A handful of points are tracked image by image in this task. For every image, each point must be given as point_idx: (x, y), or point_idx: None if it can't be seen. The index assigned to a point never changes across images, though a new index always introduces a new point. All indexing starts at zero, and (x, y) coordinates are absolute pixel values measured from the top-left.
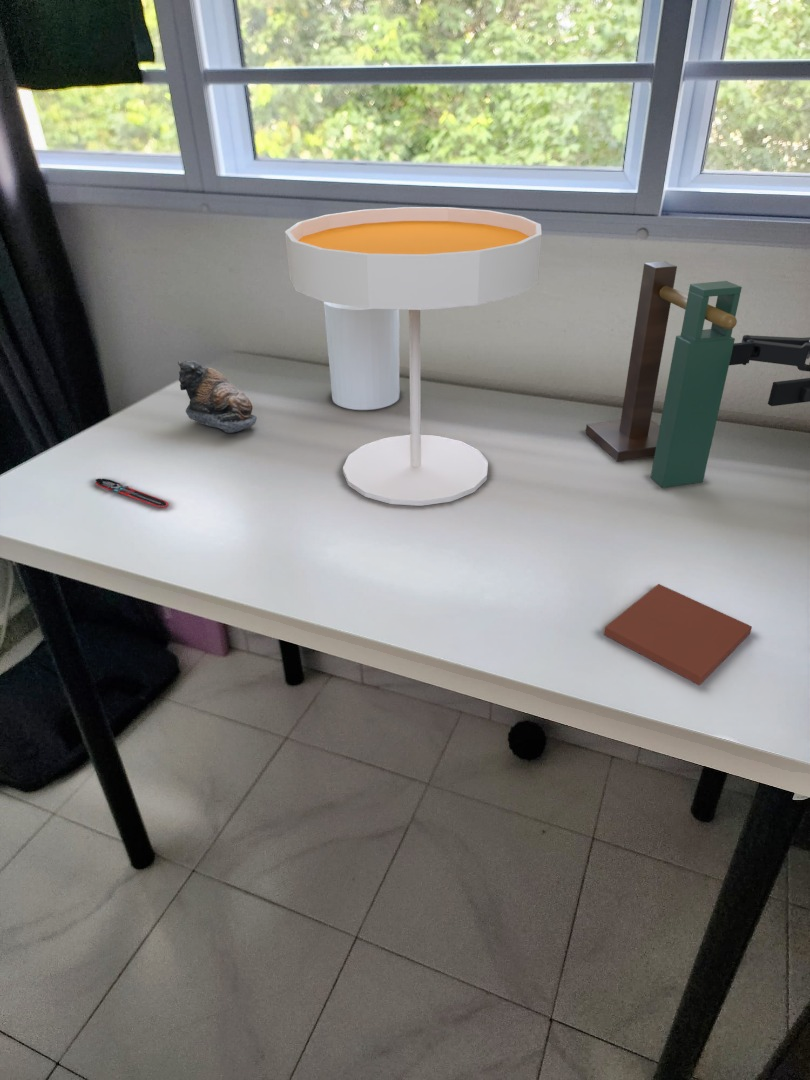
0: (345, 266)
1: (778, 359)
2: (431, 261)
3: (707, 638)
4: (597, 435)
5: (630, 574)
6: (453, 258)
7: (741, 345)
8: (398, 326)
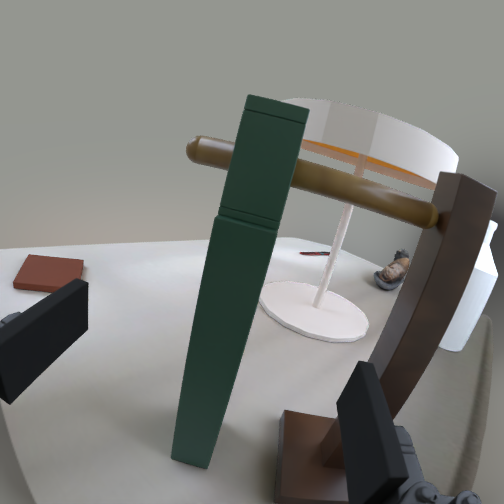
0: None
1: None
2: None
3: (33, 269)
4: None
5: (102, 300)
6: None
7: (378, 438)
8: (469, 290)
